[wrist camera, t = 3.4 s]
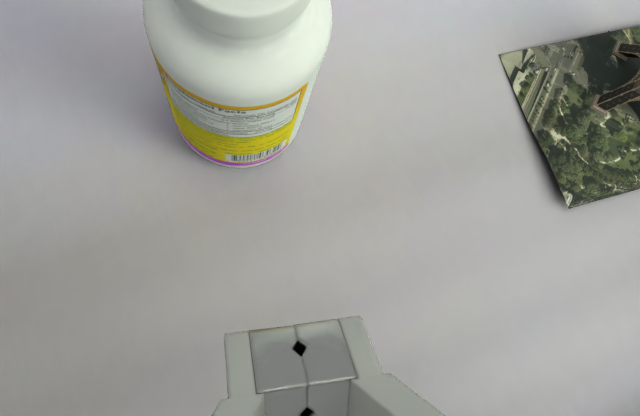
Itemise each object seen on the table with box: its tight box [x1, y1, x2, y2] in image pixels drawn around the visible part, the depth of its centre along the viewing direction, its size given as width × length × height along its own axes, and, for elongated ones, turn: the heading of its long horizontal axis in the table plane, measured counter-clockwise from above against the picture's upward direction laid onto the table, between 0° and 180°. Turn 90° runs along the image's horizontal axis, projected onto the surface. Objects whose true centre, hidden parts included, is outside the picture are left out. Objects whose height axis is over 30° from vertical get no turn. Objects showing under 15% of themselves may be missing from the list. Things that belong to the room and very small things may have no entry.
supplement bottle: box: [143, 0, 332, 168], centre depth 21 cm, size 7×7×13 cm
